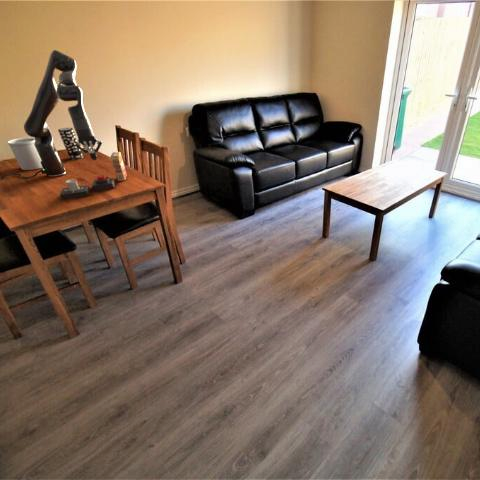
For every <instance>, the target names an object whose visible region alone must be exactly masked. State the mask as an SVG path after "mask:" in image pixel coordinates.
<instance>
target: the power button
mask: <svg viewBox="0 0 480 480" xmlns="http://www.w3.org/2000/svg"><path fill="white" fill-rule="evenodd" d="M106 177H107V176H106V175H105V174H99V175H97V176H96V179H98V180H105V179H106Z"/></svg>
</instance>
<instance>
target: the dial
mask: <svg viewBox="0 0 480 480" xmlns="http://www.w3.org/2000/svg"><path fill="white" fill-rule="evenodd" d="M65 184H66V188H68V189H69V191H76V190H79V186H80V185H79V184H78V182H77V179H75V178H74V179H73V178H71V179H68V180H66V181H65Z"/></svg>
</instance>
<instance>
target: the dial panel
mask: <svg viewBox="0 0 480 480" xmlns="http://www.w3.org/2000/svg"><path fill="white" fill-rule="evenodd" d="M78 186H79V190H76V191H69V189H68V187H63V188H62V189H61V191H60V193H59V197H60V199H61V201H64V200H71V199H77V198H78V199H79V198H85V197H89V195H90V191H91V188H90V186H89V184H84V185H78Z"/></svg>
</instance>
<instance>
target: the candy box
mask: <svg viewBox="0 0 480 480" xmlns="http://www.w3.org/2000/svg"><path fill="white" fill-rule="evenodd" d="M110 159H111V162H112V163H111V164H112V166H113V168H114V172H115V176H116V180H117V181H118V182H123V181H124V182H125V181H126V179H127V177H128V174H127V171H126V167H125V164H124V160H123V158H122V154H121V151H112V152H111V155H110Z"/></svg>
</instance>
